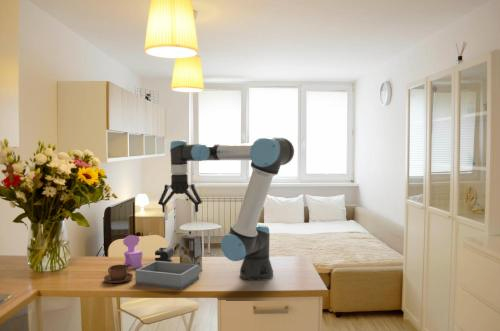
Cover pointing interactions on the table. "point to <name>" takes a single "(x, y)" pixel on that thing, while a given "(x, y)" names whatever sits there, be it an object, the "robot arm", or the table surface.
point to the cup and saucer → (118, 274)
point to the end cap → (164, 254)
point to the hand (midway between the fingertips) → (180, 219)
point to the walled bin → (167, 274)
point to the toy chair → (132, 252)
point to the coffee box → (191, 250)
